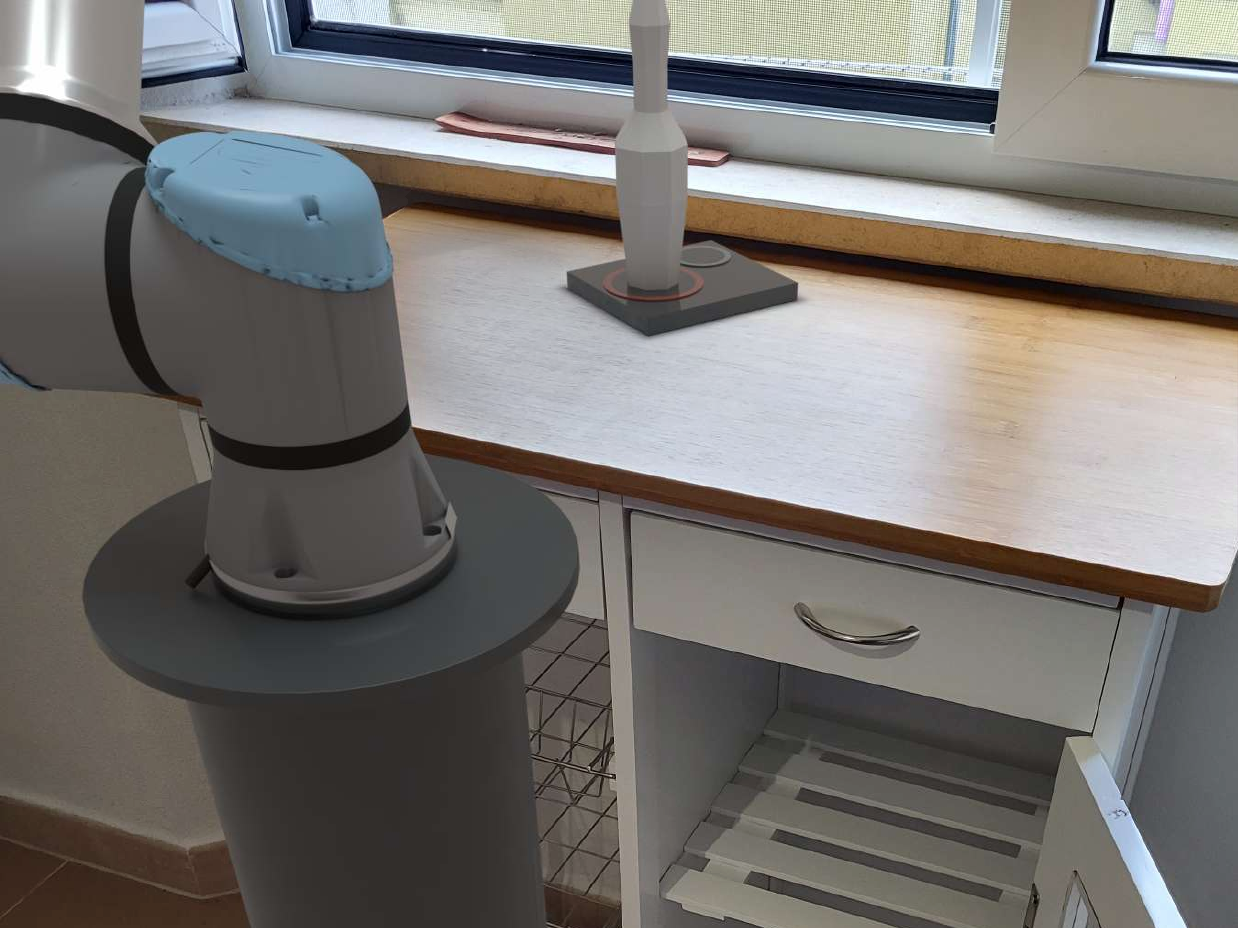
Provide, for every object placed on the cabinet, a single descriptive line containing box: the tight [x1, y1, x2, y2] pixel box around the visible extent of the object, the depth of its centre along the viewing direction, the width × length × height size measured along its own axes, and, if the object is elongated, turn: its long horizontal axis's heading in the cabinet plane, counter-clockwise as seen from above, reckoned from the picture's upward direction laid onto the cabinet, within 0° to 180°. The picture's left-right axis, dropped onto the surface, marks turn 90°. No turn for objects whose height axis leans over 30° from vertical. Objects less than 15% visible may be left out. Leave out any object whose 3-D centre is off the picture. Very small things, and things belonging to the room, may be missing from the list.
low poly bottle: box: [614, 0, 689, 290], centre depth 119 cm, size 6×6×22 cm
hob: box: [566, 239, 799, 337], centre depth 128 cm, size 16×14×2 cm
